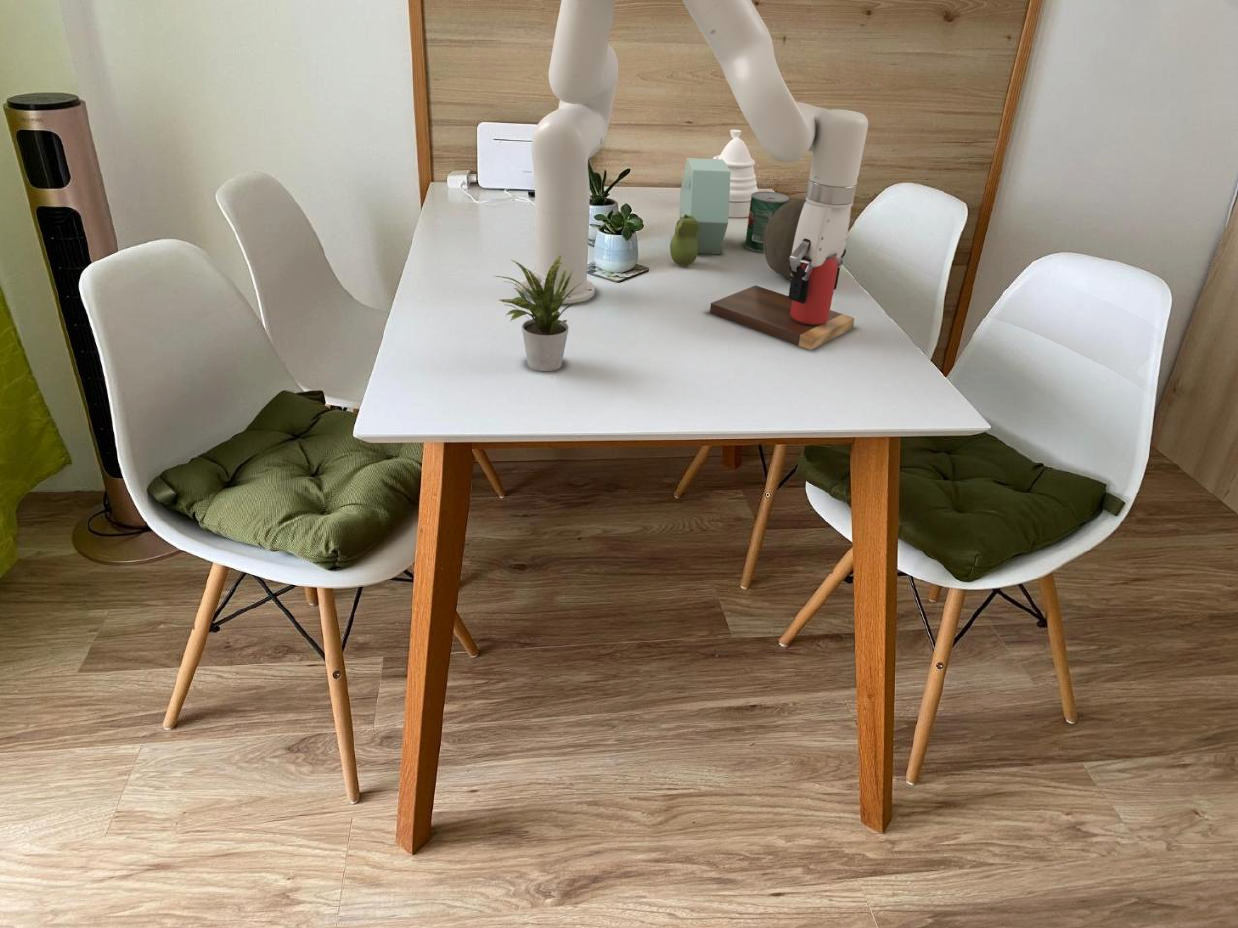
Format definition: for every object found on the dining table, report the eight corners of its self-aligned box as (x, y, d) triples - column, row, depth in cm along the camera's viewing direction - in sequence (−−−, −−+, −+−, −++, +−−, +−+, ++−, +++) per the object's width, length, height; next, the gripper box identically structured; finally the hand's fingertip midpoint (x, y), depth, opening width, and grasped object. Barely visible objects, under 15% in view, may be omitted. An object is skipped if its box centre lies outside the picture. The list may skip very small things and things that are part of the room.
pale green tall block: (715, 270, 196) (733, 204, 177) (679, 268, 195) (694, 203, 177) (711, 208, 203) (728, 139, 184) (676, 207, 202) (690, 137, 184)
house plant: (508, 338, 148) (507, 239, 139) (592, 346, 147) (596, 247, 138) (488, 375, 136) (485, 270, 127) (579, 384, 135) (583, 279, 126)
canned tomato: (742, 240, 200) (748, 190, 194) (777, 242, 200) (784, 192, 195) (747, 252, 193) (754, 200, 187) (784, 253, 194) (792, 202, 188)
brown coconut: (810, 295, 173) (823, 216, 165) (746, 276, 180) (756, 200, 172) (842, 277, 183) (856, 202, 175) (780, 260, 190) (791, 187, 182)
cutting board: (810, 350, 150) (812, 339, 149) (709, 313, 162) (710, 303, 161) (852, 328, 160) (854, 317, 159) (753, 295, 171) (755, 285, 170)
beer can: (801, 309, 161) (812, 242, 154) (834, 319, 157) (847, 252, 151) (782, 319, 156) (793, 251, 150) (816, 330, 153) (828, 261, 147)
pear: (690, 259, 187) (694, 211, 182) (700, 268, 183) (705, 219, 177) (665, 261, 185) (669, 212, 180) (675, 270, 181) (679, 220, 176)
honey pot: (696, 202, 225) (704, 126, 215) (746, 202, 227) (756, 127, 218) (710, 217, 214) (719, 138, 205) (762, 217, 216) (773, 139, 207)
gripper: (837, 180, 153) (819, 277, 162) (781, 196, 142) (765, 299, 151) (877, 189, 149) (856, 289, 158) (823, 207, 138) (804, 313, 147)
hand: (812, 294), depth 154 cm, fingers open, 9 cm apart
